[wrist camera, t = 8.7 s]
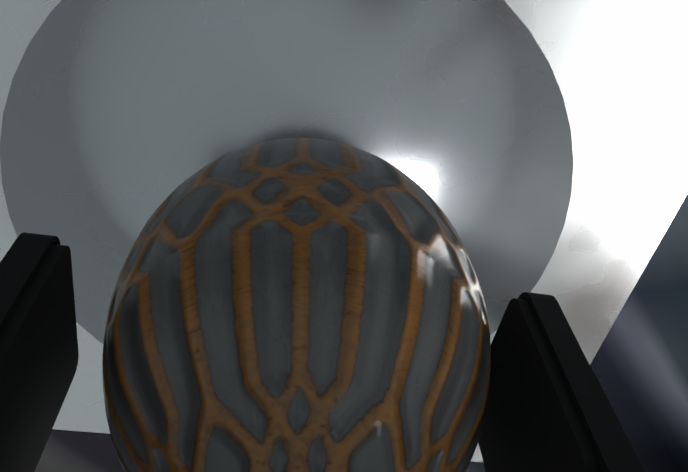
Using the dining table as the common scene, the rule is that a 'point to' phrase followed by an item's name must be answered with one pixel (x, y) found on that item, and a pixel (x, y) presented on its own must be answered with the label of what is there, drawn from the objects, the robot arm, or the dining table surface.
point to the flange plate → (354, 130)
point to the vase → (297, 322)
